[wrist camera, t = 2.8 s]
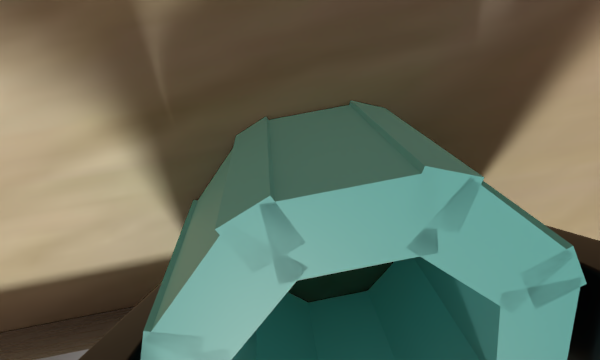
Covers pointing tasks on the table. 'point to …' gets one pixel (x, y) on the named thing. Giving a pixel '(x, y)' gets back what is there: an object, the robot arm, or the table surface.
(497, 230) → the teal blocky piece
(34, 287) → the table surface
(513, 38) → the table surface
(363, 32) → the table surface
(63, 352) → the gear board
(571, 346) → the robot arm
